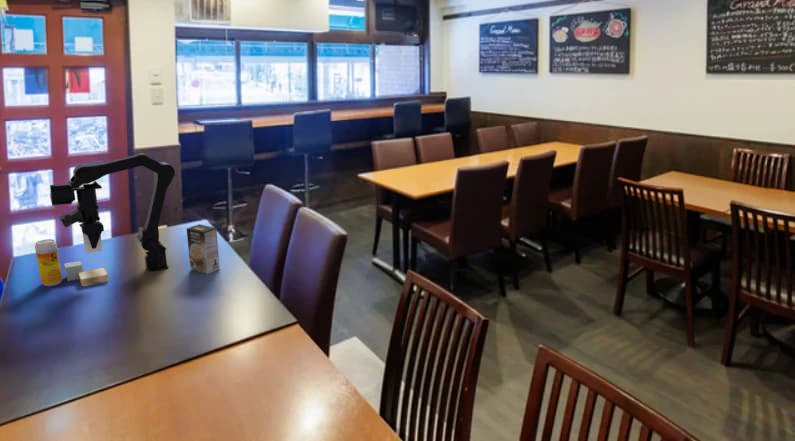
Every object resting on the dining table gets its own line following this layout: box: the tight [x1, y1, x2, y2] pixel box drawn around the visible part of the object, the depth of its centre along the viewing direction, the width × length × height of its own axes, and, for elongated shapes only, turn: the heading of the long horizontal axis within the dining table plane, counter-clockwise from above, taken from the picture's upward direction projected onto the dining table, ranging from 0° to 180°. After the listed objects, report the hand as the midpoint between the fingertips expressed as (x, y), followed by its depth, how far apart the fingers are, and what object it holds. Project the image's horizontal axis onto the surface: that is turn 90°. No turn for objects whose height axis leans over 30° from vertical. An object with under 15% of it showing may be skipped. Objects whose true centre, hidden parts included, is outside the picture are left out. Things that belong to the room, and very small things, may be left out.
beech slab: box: [78, 267, 109, 287], centre depth 187 cm, size 8×8×3 cm
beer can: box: [34, 239, 63, 287], centre depth 182 cm, size 6×6×15 cm
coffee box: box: [186, 224, 221, 275], centre depth 196 cm, size 9×6×16 cm
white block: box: [82, 233, 104, 254], centre depth 185 cm, size 5×5×6 cm
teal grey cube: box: [64, 260, 84, 282], centre depth 189 cm, size 5×5×5 cm
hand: (93, 246), depth 185 cm, fingers closed on white block, 5 cm apart
